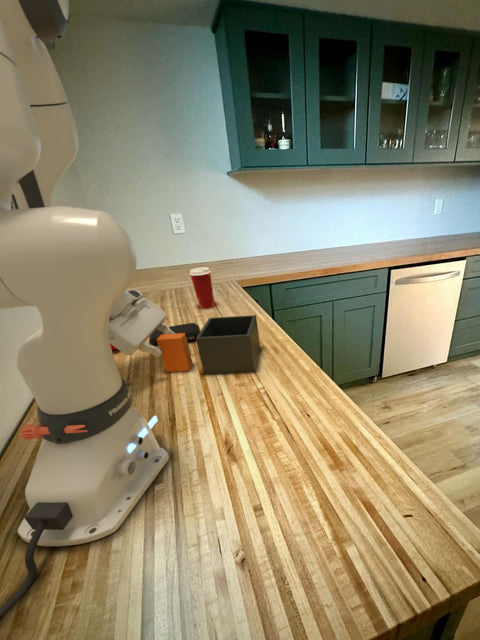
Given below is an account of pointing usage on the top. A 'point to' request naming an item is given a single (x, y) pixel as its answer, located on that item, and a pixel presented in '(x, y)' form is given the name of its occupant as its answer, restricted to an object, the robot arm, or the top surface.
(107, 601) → the top surface
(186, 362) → the block
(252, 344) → the trash bin
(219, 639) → the top surface
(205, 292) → the paper cup
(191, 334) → the carrying case
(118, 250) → the robot arm
